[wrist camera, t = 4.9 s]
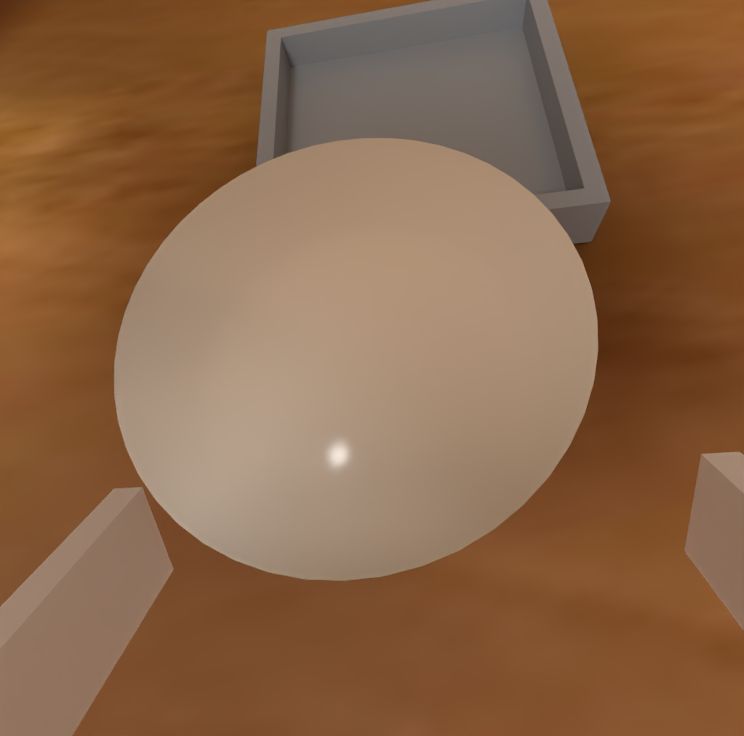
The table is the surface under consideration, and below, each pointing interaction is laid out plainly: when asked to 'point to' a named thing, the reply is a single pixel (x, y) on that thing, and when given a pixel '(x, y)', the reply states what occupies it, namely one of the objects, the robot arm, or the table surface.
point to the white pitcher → (355, 359)
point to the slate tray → (441, 94)
